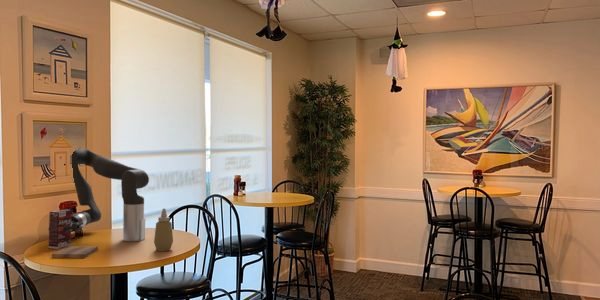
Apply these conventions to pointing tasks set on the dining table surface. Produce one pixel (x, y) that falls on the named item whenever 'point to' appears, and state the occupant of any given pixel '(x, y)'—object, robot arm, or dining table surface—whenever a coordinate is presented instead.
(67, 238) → the supplement box
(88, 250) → the walnut board
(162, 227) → the squeeze bottle
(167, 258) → the dining table surface
